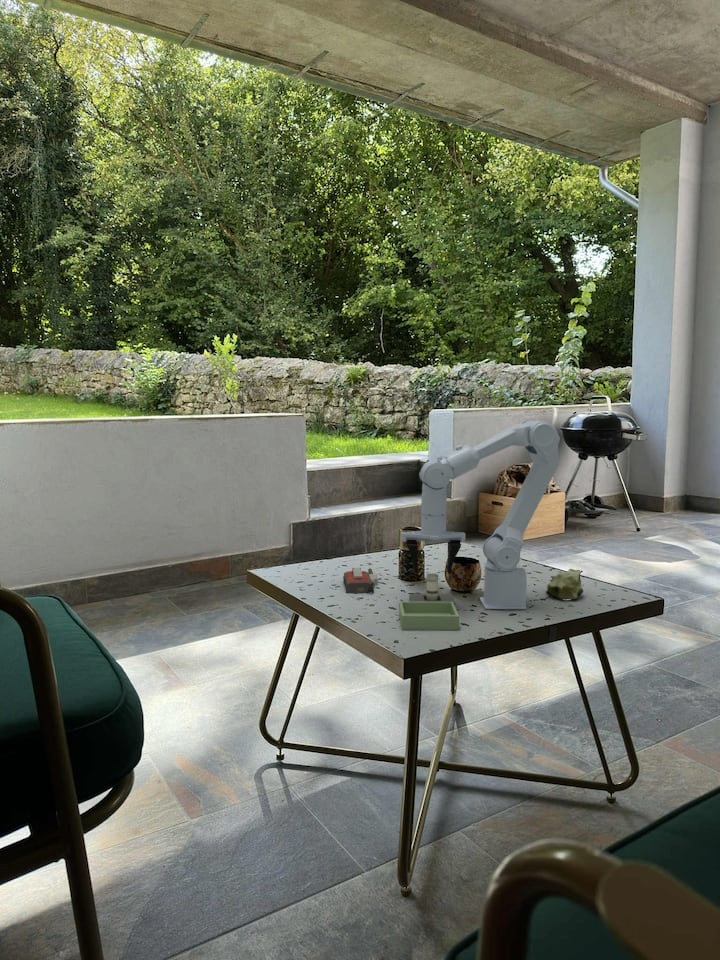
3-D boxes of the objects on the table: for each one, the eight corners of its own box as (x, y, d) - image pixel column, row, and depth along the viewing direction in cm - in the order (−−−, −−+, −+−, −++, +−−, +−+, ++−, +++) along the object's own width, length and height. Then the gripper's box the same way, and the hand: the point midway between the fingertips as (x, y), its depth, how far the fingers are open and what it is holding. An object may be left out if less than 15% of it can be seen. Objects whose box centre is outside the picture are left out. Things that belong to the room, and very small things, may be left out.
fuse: (436, 604, 169) (437, 573, 168) (438, 608, 166) (439, 576, 165) (425, 604, 169) (426, 573, 168) (426, 608, 166) (427, 576, 165)
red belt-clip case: (381, 596, 177) (373, 574, 197) (381, 578, 176) (373, 558, 196) (345, 596, 176) (341, 574, 196) (345, 579, 176) (341, 558, 195)
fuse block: (451, 601, 171) (451, 593, 171) (455, 611, 164) (455, 602, 164) (409, 601, 171) (409, 593, 171) (411, 611, 164) (411, 602, 164)
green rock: (573, 595, 181) (581, 566, 179) (584, 610, 172) (593, 579, 170) (537, 589, 181) (545, 559, 179) (547, 603, 172) (555, 572, 170)
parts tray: (452, 614, 161) (452, 601, 161) (458, 630, 152) (459, 616, 151) (399, 614, 161) (399, 601, 161) (401, 629, 151) (402, 616, 151)
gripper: (403, 517, 160) (402, 576, 162) (468, 517, 161) (466, 576, 162) (401, 511, 167) (400, 568, 169) (463, 511, 168) (461, 568, 169)
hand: (432, 572), depth 166 cm, fingers open, 7 cm apart
